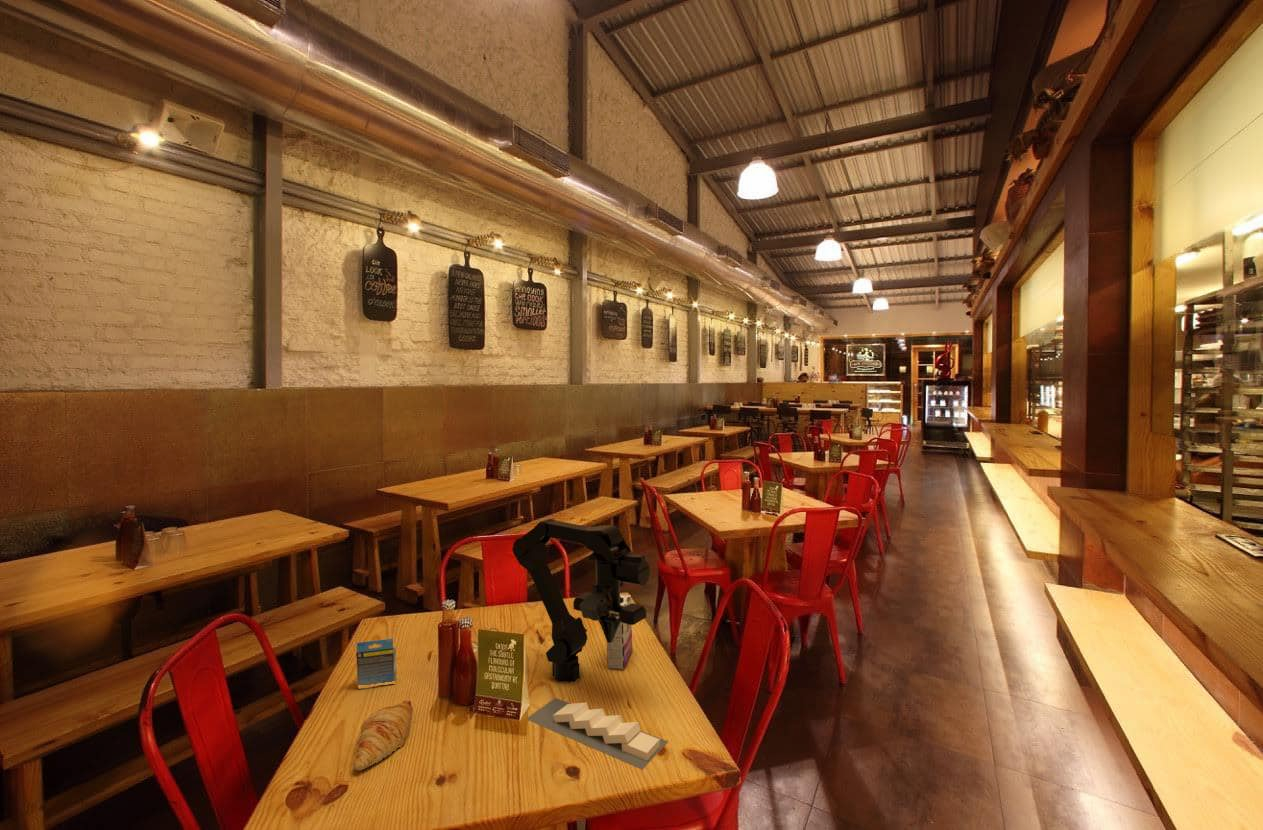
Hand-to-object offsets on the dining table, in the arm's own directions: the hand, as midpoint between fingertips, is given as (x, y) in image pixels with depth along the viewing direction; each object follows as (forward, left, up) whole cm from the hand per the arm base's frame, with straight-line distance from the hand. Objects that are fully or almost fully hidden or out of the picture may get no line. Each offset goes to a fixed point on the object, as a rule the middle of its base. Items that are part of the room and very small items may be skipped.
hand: (609, 642), depth 133 cm
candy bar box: (-8, +15, -13) cm, 22 cm away
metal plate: (+6, -15, -13) cm, 21 cm away
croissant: (-31, -41, -13) cm, 53 cm away
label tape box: (-54, -28, -13) cm, 62 cm away
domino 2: (+1, -15, -11) cm, 19 cm away
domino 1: (-3, -15, -11) cm, 19 cm away
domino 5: (+15, -15, -11) cm, 24 cm away
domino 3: (+6, -15, -11) cm, 19 cm away
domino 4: (+11, -15, -11) cm, 21 cm away
